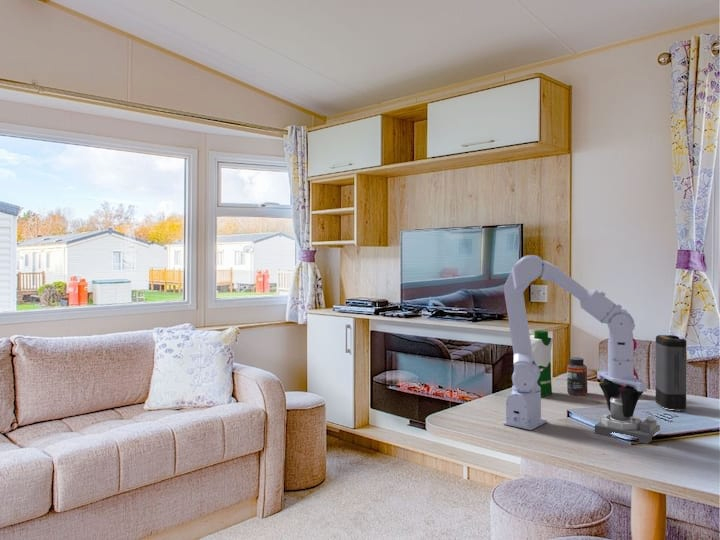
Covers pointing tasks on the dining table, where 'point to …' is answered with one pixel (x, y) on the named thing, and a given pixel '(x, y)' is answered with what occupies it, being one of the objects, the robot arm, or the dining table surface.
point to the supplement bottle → (577, 377)
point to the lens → (617, 410)
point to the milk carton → (543, 359)
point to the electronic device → (671, 372)
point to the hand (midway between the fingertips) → (620, 413)
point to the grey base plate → (629, 428)
